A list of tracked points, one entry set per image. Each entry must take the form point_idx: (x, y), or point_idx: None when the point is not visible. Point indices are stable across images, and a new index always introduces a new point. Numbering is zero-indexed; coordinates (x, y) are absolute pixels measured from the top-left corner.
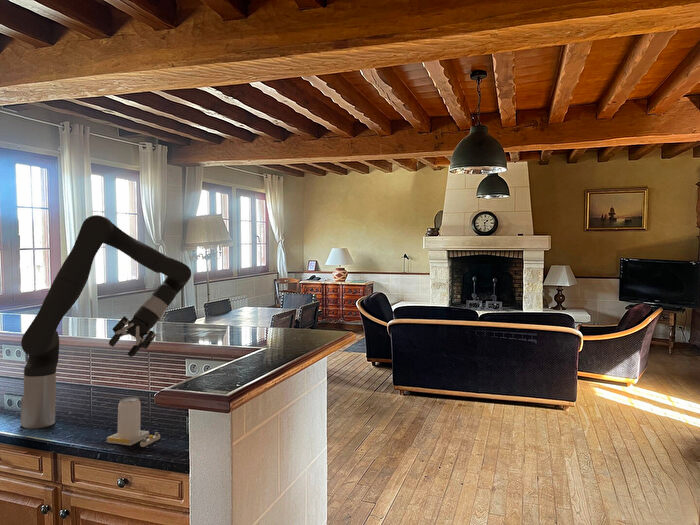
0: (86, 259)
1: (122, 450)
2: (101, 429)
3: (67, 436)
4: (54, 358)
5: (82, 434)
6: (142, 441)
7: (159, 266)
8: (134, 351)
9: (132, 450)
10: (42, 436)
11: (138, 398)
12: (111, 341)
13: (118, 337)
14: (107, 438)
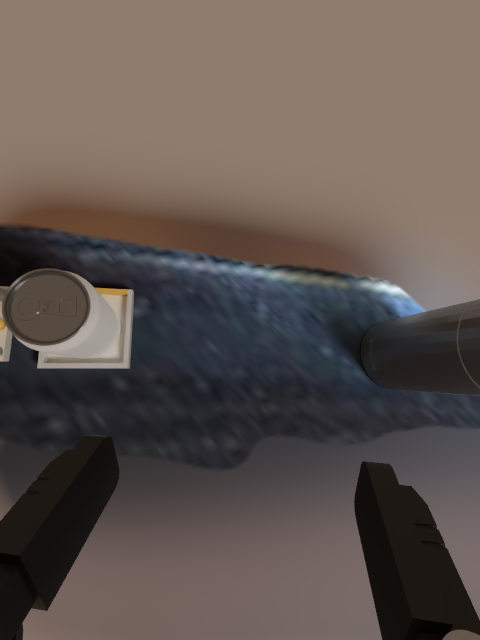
0: None
1: (49, 253)
2: (223, 375)
3: (262, 305)
4: None
5: (239, 327)
6: (6, 290)
7: None
8: (30, 487)
9: (20, 259)
10: (314, 290)
11: (18, 334)
12: (383, 489)
13: (394, 635)
14: (131, 290)
